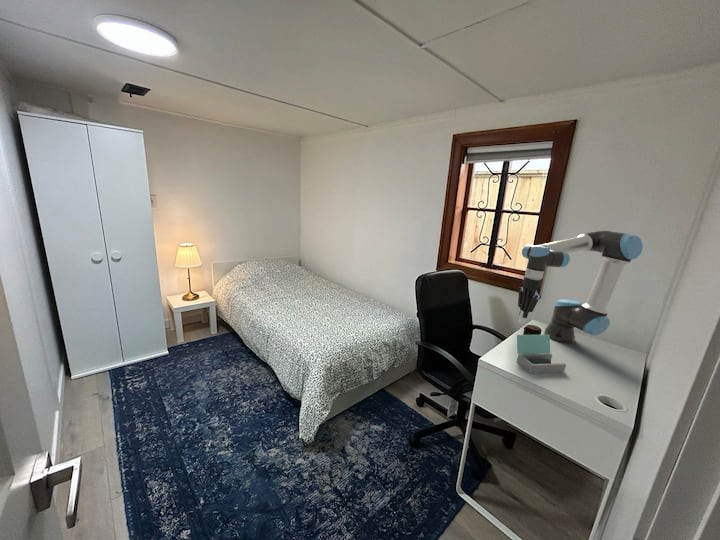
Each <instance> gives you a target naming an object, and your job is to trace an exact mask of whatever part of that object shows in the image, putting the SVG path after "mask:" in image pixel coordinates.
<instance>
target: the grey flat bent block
mask: <svg viewBox="0 0 720 540" xmlns="http://www.w3.org/2000/svg"><path fill="white" fill-rule="evenodd" d="M552 357H553V354H552V353H543V354H517V360H516V362H517V364H519V365H520V366H521V367H522V368H524V369H525V370H526V371H527V372H528V373H530V374H549V373H564V372H565V371H566V367H567V364H566V363H565V362H560V363H559V362H558V363H556V362H555V363H551V364H532V363H531V362H530V361H529V359H549V360H550V361H551V362H552Z"/></svg>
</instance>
